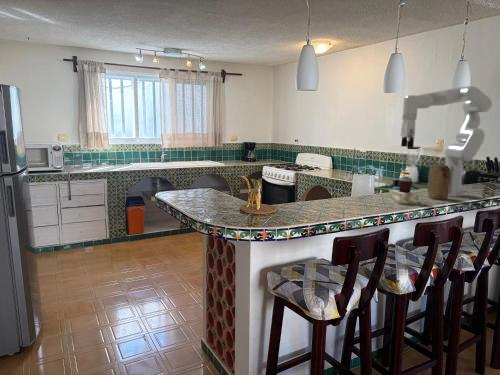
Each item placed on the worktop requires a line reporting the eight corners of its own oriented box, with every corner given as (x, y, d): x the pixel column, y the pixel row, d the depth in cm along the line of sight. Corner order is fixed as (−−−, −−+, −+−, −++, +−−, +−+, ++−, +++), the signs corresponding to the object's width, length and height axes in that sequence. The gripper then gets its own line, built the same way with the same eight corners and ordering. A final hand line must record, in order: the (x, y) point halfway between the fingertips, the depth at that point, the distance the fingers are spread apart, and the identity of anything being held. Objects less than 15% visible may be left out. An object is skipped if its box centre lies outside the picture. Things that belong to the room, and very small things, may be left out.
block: (425, 196, 220) (428, 163, 216) (434, 196, 222) (438, 163, 219) (440, 200, 210) (444, 166, 206) (449, 200, 212) (454, 165, 209)
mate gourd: (408, 190, 209) (411, 164, 206) (414, 193, 201) (417, 166, 198) (395, 190, 209) (397, 164, 206) (400, 193, 201) (403, 166, 198)
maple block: (406, 199, 213) (407, 189, 211) (417, 204, 202) (418, 193, 201) (388, 200, 211) (389, 189, 210) (398, 204, 200) (399, 193, 199)
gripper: (397, 117, 220) (395, 145, 223) (408, 117, 203) (405, 148, 207) (410, 117, 220) (408, 145, 223) (422, 117, 203) (419, 148, 206)
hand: (407, 147), depth 215 cm, fingers open, 9 cm apart
